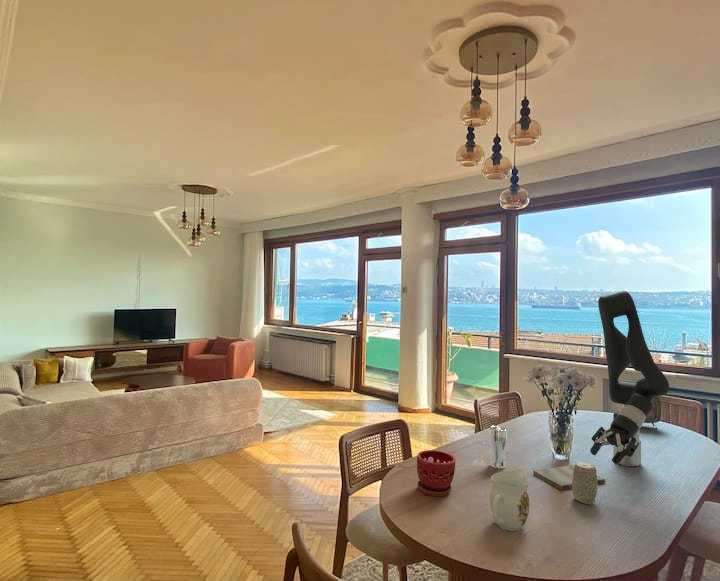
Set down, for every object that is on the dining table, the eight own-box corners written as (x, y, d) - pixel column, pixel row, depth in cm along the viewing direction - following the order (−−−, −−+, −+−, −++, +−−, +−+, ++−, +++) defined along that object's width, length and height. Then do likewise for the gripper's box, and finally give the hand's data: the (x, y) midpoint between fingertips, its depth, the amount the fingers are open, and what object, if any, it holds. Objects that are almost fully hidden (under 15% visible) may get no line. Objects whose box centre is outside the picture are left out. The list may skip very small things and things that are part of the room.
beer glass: (508, 470, 167) (508, 431, 167) (489, 468, 168) (489, 430, 169) (505, 463, 174) (506, 426, 174) (487, 461, 175) (488, 425, 175)
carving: (596, 508, 137) (597, 470, 137) (570, 501, 141) (571, 465, 141) (598, 500, 142) (598, 464, 143) (572, 494, 146) (573, 459, 147)
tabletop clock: (631, 428, 226) (631, 381, 227) (623, 423, 235) (623, 378, 236) (661, 430, 224) (661, 382, 224) (652, 425, 233) (652, 379, 233)
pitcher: (475, 530, 122) (476, 482, 122) (503, 509, 135) (503, 465, 135) (513, 546, 114) (513, 494, 115) (538, 521, 128) (538, 475, 128)
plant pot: (431, 502, 139) (432, 465, 139) (409, 486, 150) (409, 452, 151) (463, 494, 145) (463, 459, 145) (438, 480, 156) (439, 447, 157)
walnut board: (574, 468, 169) (574, 464, 169) (605, 483, 156) (605, 479, 156) (533, 474, 163) (533, 470, 163) (561, 489, 150) (561, 485, 150)
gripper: (604, 409, 154) (579, 444, 150) (642, 419, 141) (615, 458, 137) (615, 423, 156) (591, 457, 152) (653, 434, 142) (628, 473, 138)
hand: (602, 458), depth 144 cm, fingers open, 8 cm apart
